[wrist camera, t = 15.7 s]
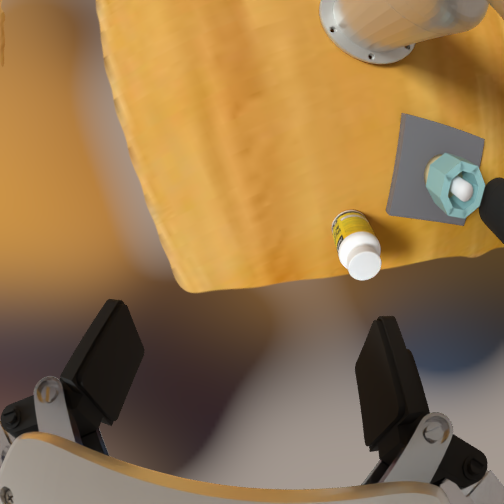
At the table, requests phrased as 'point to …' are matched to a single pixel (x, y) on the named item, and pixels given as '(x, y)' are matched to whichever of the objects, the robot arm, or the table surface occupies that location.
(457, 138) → the post stand
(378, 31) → the robot arm
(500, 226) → the pen holder
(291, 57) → the table surface
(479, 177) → the ring
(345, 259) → the supplement bottle
